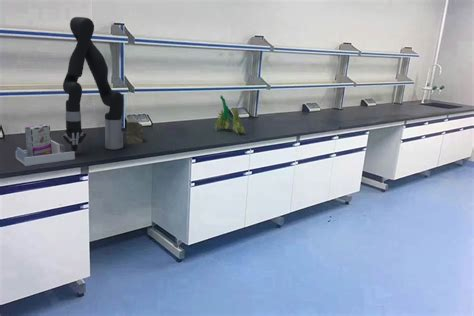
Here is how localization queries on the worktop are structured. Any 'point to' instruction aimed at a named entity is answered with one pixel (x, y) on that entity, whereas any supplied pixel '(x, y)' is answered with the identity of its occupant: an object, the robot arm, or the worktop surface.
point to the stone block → (134, 132)
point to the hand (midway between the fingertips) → (74, 151)
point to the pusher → (57, 147)
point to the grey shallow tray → (42, 157)
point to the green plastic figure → (236, 119)
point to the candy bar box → (38, 140)
